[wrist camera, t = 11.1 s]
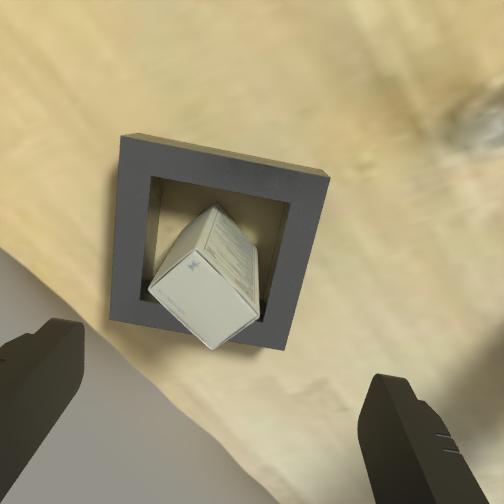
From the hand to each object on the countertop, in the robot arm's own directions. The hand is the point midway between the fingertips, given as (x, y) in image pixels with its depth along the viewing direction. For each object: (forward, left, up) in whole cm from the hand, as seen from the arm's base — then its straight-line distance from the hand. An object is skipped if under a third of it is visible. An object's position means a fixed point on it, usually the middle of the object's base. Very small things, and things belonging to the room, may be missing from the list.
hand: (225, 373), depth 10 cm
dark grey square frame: (+2, +5, -24) cm, 25 cm away
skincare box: (+2, +5, -24) cm, 25 cm away
